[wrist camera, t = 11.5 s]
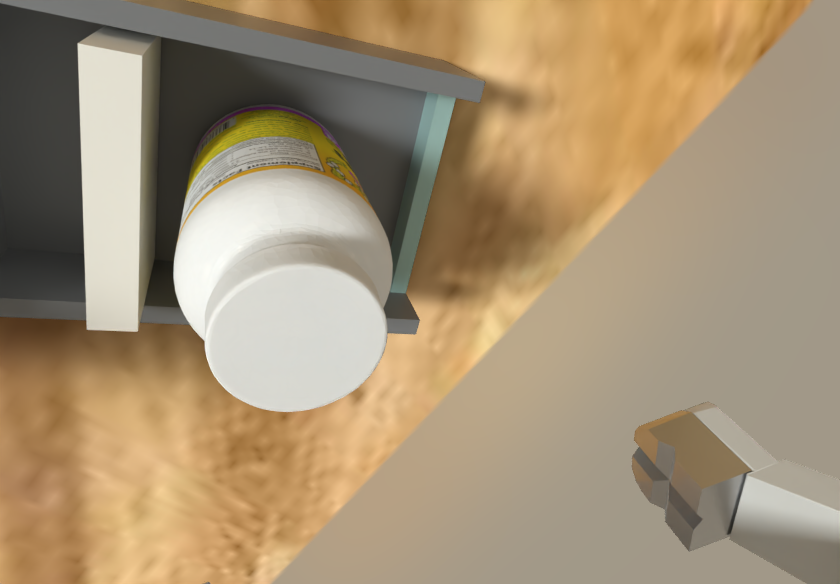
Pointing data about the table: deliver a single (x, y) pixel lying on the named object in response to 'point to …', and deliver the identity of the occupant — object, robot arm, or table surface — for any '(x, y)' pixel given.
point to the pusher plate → (118, 172)
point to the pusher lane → (203, 133)
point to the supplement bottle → (281, 261)
